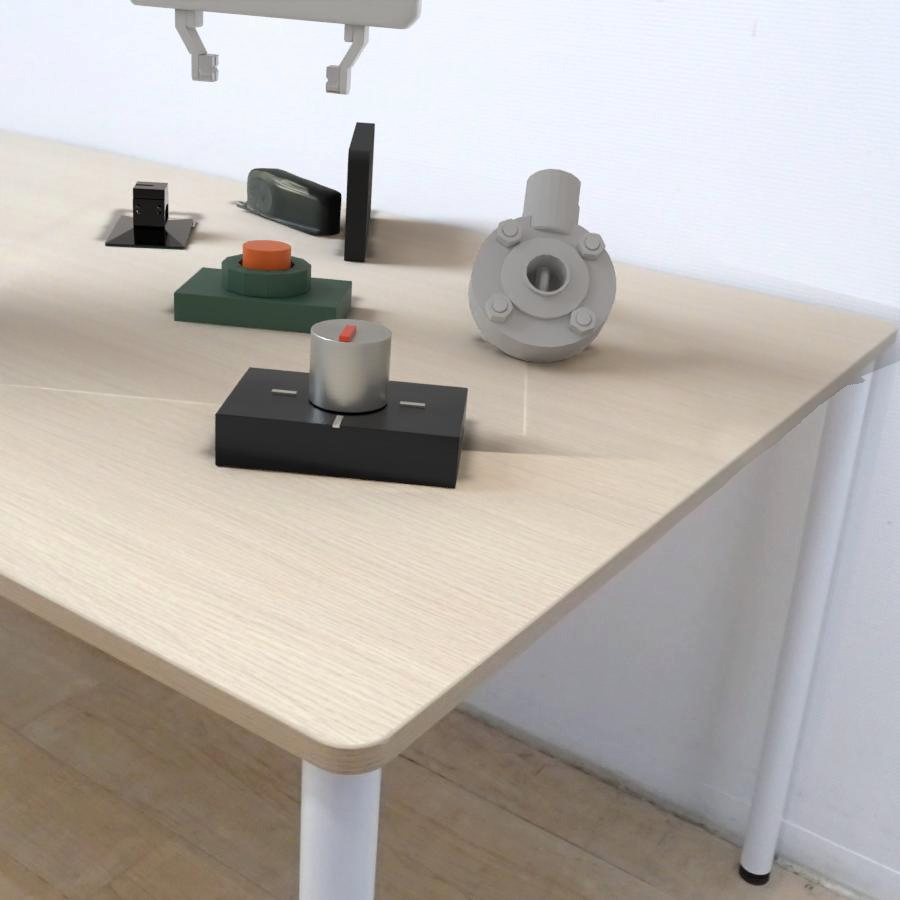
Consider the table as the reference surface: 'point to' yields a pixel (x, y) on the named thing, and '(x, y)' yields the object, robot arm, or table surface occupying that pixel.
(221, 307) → the button box
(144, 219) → the build plate
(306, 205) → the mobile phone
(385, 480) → the dial panel
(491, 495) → the table surface
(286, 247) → the button
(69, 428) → the table surface
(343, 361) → the knob
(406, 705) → the table surface
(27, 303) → the table surface
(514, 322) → the mechanical valve
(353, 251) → the nameplate
